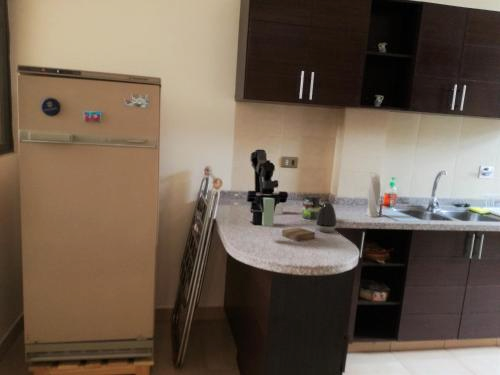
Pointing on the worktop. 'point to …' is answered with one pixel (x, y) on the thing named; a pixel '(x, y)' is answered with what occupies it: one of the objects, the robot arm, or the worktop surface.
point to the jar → (278, 207)
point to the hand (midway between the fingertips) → (268, 211)
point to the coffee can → (311, 207)
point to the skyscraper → (374, 197)
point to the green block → (268, 212)
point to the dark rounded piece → (326, 218)
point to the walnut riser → (298, 234)
